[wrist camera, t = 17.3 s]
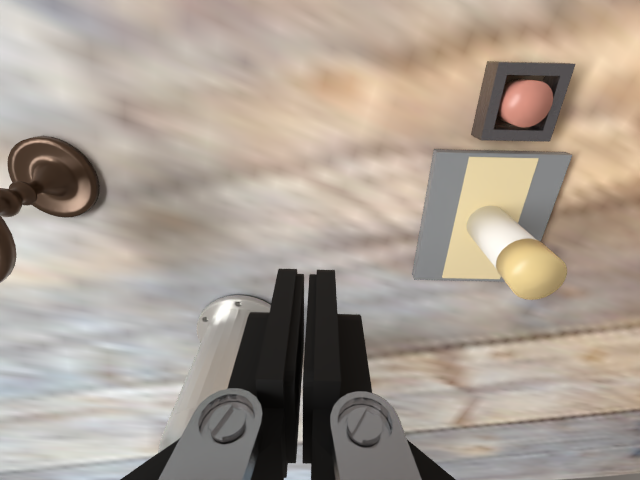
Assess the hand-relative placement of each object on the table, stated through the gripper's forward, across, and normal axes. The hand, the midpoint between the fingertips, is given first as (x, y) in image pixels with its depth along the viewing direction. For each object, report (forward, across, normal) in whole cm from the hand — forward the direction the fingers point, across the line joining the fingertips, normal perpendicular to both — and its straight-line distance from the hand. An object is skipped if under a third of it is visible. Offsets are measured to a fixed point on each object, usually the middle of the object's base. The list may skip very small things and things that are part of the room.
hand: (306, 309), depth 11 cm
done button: (+29, -19, -3) cm, 35 cm away
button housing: (+29, -19, -3) cm, 35 cm away
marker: (+28, -19, +10) cm, 35 cm away
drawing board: (+29, -19, +10) cm, 36 cm away
